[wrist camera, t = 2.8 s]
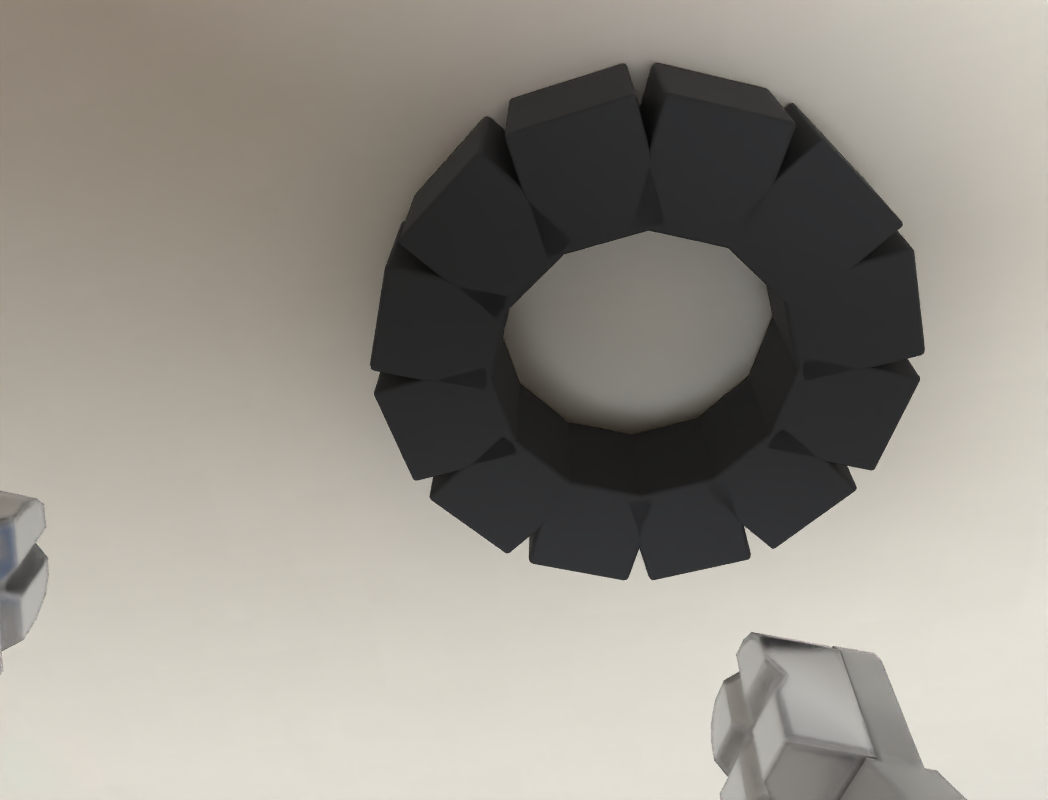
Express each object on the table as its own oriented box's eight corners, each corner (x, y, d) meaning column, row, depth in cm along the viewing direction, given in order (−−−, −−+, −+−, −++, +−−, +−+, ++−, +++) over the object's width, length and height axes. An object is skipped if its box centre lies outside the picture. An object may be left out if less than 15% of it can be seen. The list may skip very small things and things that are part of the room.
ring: (294, 329, 19) (266, 385, 17) (641, -61, 15) (654, -44, 13) (630, 578, 22) (637, 648, 20) (984, 308, 18) (1034, 364, 17)
